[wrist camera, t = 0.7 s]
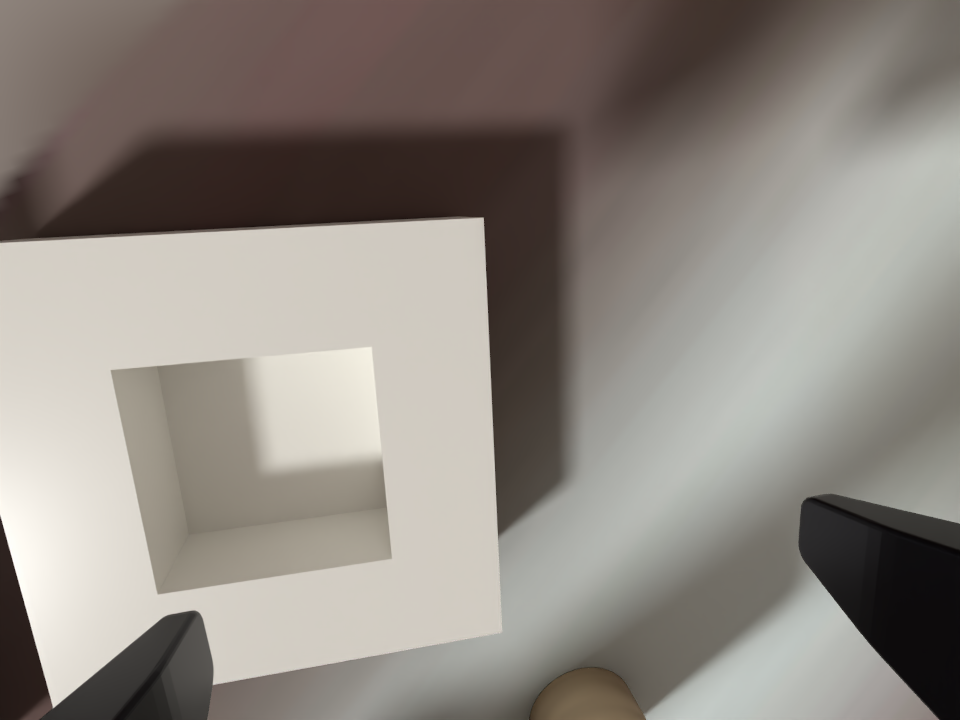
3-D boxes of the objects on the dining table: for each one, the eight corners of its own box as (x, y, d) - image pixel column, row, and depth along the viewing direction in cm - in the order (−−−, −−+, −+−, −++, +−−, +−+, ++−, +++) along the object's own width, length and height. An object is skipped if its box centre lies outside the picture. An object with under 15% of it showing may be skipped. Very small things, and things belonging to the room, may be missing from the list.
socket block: (476, 558, 22) (501, 632, 18) (114, 614, 19) (54, 713, 16) (457, 216, 19) (483, 217, 15) (26, 238, 16) (-74, 247, 13)
